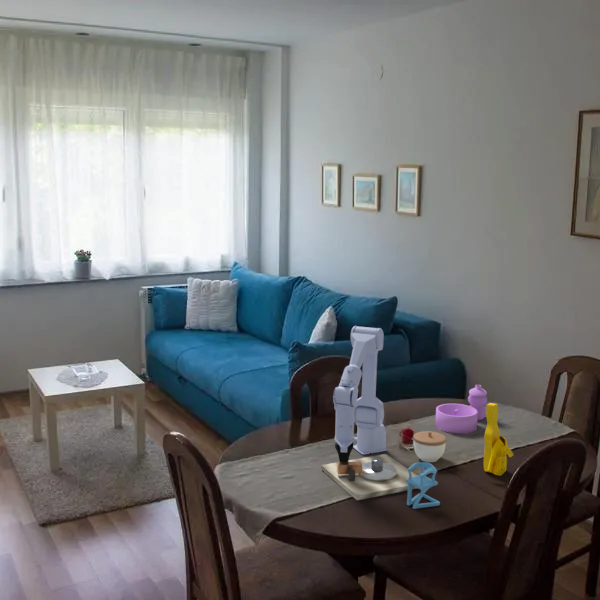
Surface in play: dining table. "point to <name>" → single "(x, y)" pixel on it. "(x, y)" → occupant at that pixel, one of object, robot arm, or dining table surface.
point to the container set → (462, 413)
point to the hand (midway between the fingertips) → (343, 465)
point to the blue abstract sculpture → (421, 485)
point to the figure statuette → (495, 444)
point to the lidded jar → (429, 445)
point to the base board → (369, 488)
